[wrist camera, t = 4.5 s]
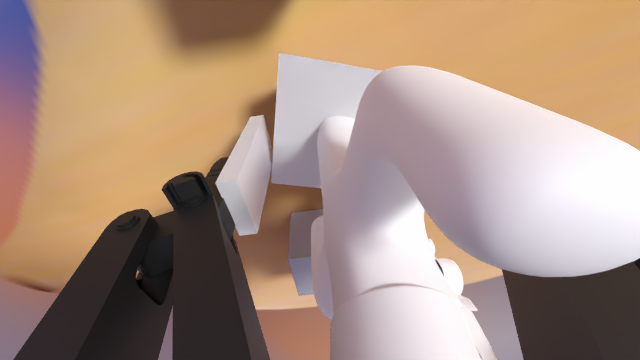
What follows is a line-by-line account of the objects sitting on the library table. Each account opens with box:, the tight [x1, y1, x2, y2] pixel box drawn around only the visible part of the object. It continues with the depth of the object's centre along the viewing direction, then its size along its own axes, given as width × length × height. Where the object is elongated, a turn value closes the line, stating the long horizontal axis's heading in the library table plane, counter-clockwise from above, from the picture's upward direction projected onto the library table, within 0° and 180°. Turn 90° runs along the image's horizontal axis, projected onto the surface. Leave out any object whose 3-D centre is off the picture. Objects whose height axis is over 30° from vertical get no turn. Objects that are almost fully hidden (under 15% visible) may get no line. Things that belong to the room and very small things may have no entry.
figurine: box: [271, 53, 640, 360], centre depth 10 cm, size 7×9×15 cm
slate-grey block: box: [288, 209, 323, 296], centre depth 20 cm, size 5×5×5 cm
